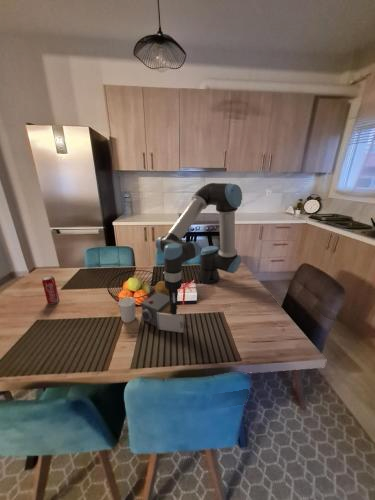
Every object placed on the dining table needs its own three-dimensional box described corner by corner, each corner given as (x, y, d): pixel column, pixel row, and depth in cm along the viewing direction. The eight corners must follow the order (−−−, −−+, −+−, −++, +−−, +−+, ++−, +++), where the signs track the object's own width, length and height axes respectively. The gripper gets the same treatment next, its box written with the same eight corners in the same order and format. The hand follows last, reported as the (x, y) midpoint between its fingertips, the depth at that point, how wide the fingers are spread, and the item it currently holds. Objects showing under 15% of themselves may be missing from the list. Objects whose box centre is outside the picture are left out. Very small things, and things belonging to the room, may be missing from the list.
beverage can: (48, 306, 114) (42, 282, 109) (46, 300, 119) (40, 277, 113) (60, 301, 118) (55, 278, 112) (58, 296, 122) (52, 274, 117)
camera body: (158, 307, 113) (157, 290, 109) (173, 314, 108) (173, 296, 104) (139, 322, 102) (138, 303, 98) (155, 330, 97) (154, 311, 93)
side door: (157, 330, 97) (156, 314, 94) (158, 327, 98) (157, 312, 95) (183, 333, 95) (182, 317, 91) (183, 331, 96) (183, 315, 93)
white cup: (131, 311, 110) (129, 295, 107) (139, 318, 105) (138, 301, 101) (117, 318, 105) (115, 301, 101) (125, 325, 100) (123, 308, 96)
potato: (171, 277, 126) (156, 276, 126) (170, 289, 114) (153, 288, 114) (170, 290, 130) (155, 289, 130) (169, 303, 118) (153, 302, 117)
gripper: (164, 272, 96) (165, 313, 104) (164, 286, 84) (165, 332, 93) (180, 271, 97) (180, 312, 105) (183, 285, 85) (182, 330, 94)
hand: (173, 321), depth 99 cm, fingers closed
